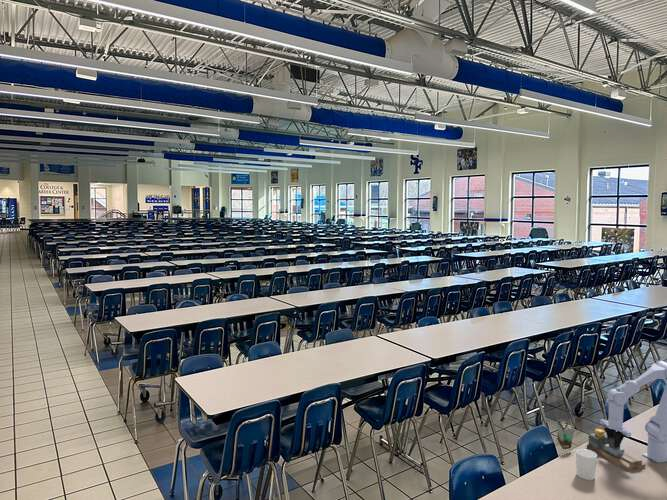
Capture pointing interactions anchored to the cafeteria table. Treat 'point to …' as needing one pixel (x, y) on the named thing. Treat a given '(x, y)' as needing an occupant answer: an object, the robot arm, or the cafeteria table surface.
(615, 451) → the carriage
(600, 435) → the button
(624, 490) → the cafeteria table surface
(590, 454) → the white cup
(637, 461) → the rail board
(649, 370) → the robot arm
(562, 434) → the food container
